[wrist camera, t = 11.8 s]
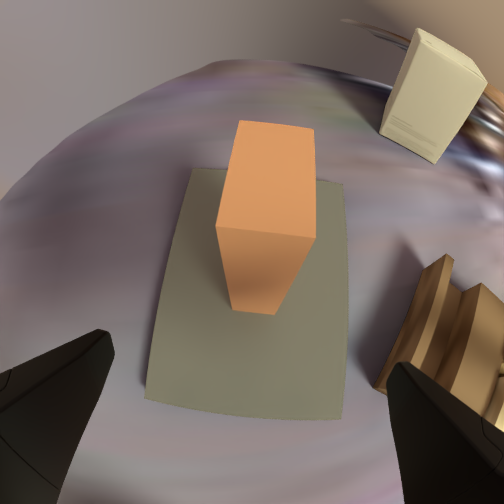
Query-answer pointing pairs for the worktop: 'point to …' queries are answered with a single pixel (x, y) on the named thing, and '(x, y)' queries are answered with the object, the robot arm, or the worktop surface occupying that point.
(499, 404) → the ash offcut
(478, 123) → the worktop surface
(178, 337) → the slate tile
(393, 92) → the supplement box
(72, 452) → the robot arm
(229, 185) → the orange rectangular block
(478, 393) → the walnut rack
